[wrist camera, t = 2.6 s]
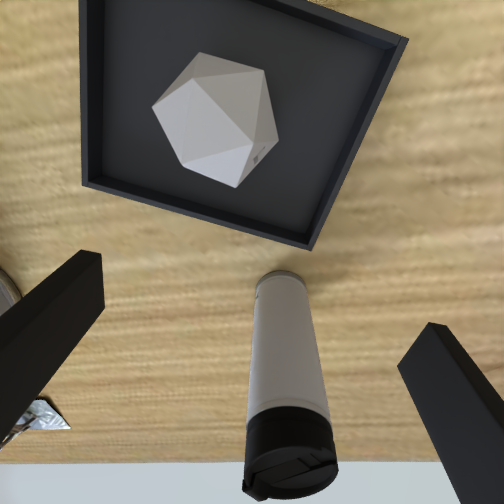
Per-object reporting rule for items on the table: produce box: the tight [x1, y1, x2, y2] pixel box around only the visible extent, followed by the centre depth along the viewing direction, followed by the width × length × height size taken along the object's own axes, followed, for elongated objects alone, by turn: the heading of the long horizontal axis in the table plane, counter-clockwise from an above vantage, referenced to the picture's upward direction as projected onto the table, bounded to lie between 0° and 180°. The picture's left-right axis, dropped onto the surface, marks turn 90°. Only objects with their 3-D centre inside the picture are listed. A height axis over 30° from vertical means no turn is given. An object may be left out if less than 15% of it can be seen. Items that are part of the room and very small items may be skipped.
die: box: [152, 52, 279, 188], centre depth 22 cm, size 8×9×10 cm
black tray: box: [78, 0, 409, 251], centre depth 24 cm, size 23×18×3 cm
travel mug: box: [242, 271, 339, 502], centre depth 26 cm, size 6×7×20 cm
